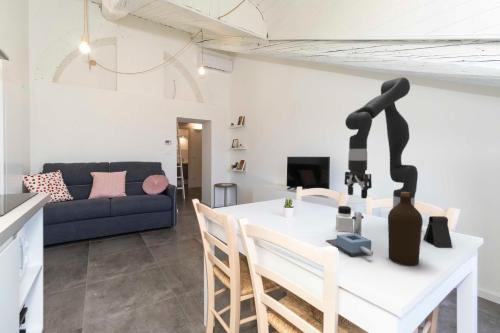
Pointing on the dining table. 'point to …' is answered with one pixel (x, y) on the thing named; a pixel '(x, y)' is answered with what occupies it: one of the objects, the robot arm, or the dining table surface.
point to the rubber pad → (332, 242)
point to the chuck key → (357, 222)
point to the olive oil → (404, 232)
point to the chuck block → (354, 245)
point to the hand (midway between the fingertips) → (356, 196)
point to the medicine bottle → (344, 219)
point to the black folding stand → (438, 232)
